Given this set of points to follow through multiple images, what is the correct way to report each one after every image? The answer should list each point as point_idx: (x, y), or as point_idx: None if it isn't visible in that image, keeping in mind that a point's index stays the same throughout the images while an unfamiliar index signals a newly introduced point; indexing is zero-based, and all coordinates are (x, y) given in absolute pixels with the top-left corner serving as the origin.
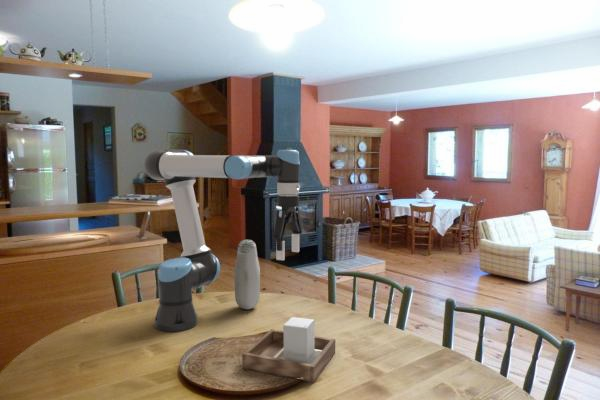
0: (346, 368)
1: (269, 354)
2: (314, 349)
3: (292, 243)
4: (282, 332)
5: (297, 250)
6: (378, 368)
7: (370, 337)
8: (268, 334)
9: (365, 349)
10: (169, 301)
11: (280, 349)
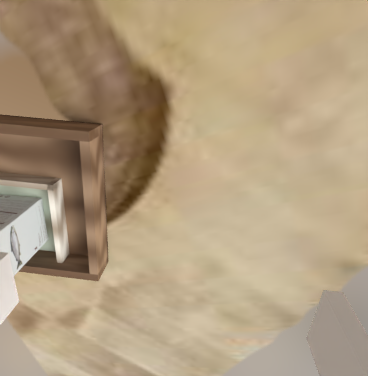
0: (60, 283)
1: (31, 147)
2: (36, 251)
3: (356, 372)
4: (82, 167)
5: (314, 344)
6: (83, 322)
7: (204, 308)
8: (53, 136)
9: (145, 304)
10: None
11: (65, 162)
